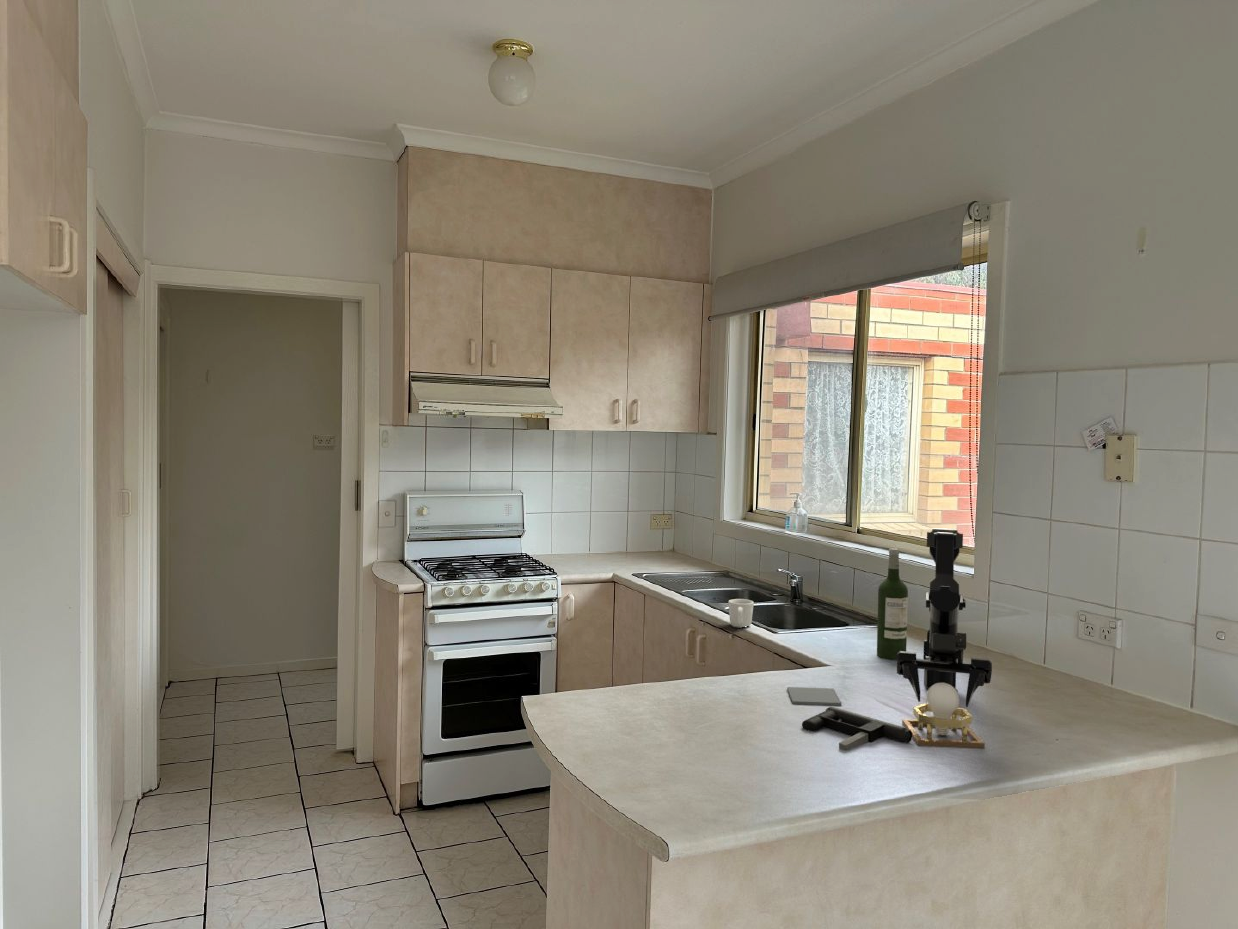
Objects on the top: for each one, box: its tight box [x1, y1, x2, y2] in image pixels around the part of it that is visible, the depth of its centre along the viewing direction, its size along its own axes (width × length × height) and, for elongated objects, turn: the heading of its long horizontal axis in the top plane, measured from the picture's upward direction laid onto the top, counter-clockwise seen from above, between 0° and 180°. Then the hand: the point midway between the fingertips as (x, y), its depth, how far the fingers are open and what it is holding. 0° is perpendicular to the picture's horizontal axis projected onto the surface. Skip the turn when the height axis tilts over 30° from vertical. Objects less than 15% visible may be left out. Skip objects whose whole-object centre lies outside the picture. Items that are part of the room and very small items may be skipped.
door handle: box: [801, 706, 913, 752], centre depth 181 cm, size 3×20×16 cm
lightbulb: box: [926, 683, 960, 737], centre depth 182 cm, size 6×6×11 cm
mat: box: [787, 686, 842, 706], centre depth 207 cm, size 11×11×1 cm
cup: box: [728, 598, 755, 629], centre depth 277 cm, size 11×8×8 cm
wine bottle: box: [876, 548, 909, 661], centre depth 244 cm, size 8×8×30 cm
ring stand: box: [901, 702, 986, 749], centre depth 182 cm, size 13×13×5 cm
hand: (942, 703), depth 181 cm, fingers open, 9 cm apart
